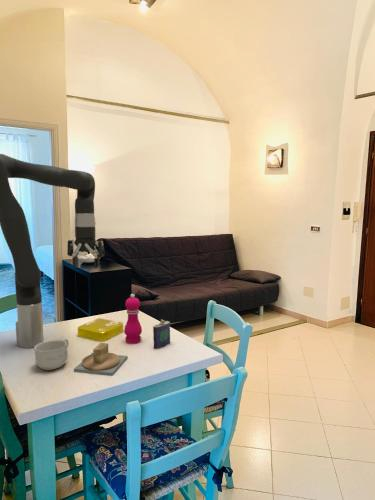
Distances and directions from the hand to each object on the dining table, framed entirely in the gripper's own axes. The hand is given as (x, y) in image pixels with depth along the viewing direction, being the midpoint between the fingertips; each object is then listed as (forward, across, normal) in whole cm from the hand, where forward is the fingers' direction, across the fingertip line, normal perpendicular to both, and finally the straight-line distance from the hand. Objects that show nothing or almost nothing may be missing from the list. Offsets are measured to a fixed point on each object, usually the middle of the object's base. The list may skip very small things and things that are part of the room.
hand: (86, 267), depth 144 cm
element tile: (+33, -2, +15) cm, 36 cm away
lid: (+31, +12, -14) cm, 36 cm away
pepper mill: (+32, +15, +10) cm, 37 cm away
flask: (+32, +28, +8) cm, 44 cm away
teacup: (+32, -4, -17) cm, 37 cm away
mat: (+32, +12, -14) cm, 37 cm away
